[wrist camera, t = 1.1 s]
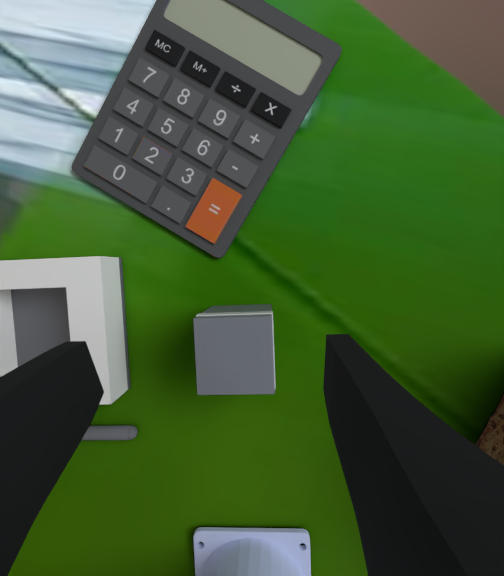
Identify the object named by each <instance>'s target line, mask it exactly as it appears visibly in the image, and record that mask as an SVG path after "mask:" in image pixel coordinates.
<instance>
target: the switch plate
mask: <svg viewBox="0 0 504 576" xmlns="http://www.w3.org/2000/svg"><path fill="white" fill-rule="evenodd" d="M70 341H86V344H87V346H88V349H89V352H90V355H91V357H92V360H93V363H94V365H95V368H96V371H97V374H98V376H99V379H100V382H101V384H102V387H103V390H104V394H103V396H102V399H101V401H100V404H112V403H113V402H114V401H115V400H117V399H118V398H119V397H120V396H121V395H122V394H124V393H125V392H126V391H127V390H128V389H129V388H131V386H130V371H129V357H128V342H127V328H126V313H125V299H124V284H123V269H122V258H119V257H104V256H95V257H72V258H50V259H28V260H5V261H0V377H1V376H3V375H5V374H7V373H8V372H10V371H12V370H14V369H15V368H17V367H19V366H21V365H23V364H24V363H26V362H28V361H30V360H31V359H33V358H35V357H37V356H39V355H41V354H42V353H44V352H46V351H48V350H50V349H52V348H54V347H56V346H58V345H60V344H62V343H64V342H70Z"/></svg>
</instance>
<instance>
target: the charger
mask: <svg viewBox="0 0 504 576" xmlns="http://www.w3.org/2000/svg"><path fill="white" fill-rule="evenodd" d="M193 322H194V341H195V359H196V378H197V395H231V394H275V389H276V387H275V360H274V332H273V311H272V304H259V305H229V306H211V307H210V308H208V309H207V310H205V311H204V312H202V313H199V314H197V315H196V317H195V318H193Z"/></svg>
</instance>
